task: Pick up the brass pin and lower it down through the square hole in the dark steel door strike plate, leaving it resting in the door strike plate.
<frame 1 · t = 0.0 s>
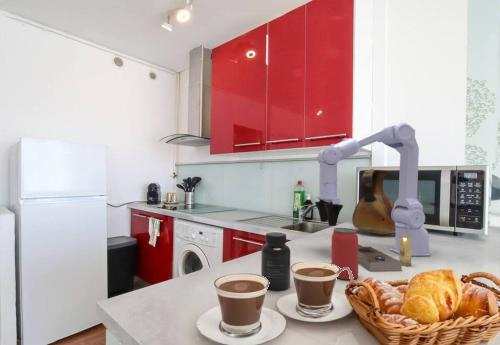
hand: (328, 223, 90), 10 cm above the worktop, tool pointing down, fingers open, 7 cm apart
beer can: (344, 276, 69), on the worktop
brass pin: (405, 264, 79), on the worktop
door strike plate: (364, 258, 85), on the worktop
ceramic pitcher: (375, 233, 125), on the worktop
supplement bottle: (275, 286, 63), on the worktop
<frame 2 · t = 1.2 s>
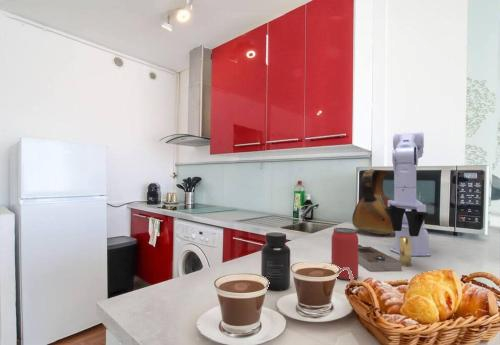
hand: (405, 233, 79), 9 cm above the worktop, tool pointing down, fingers open, 7 cm apart
nothing on the worktop moved.
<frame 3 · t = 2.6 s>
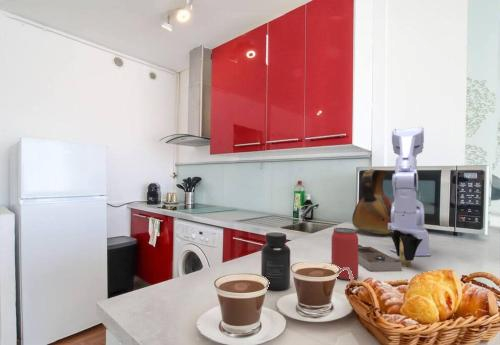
hand: (405, 258, 79), 2 cm above the worktop, tool pointing down, fingers closed on brass pin, 3 cm apart
brass pin: (405, 264, 79), on the worktop, touching gripper
everything else where it was.
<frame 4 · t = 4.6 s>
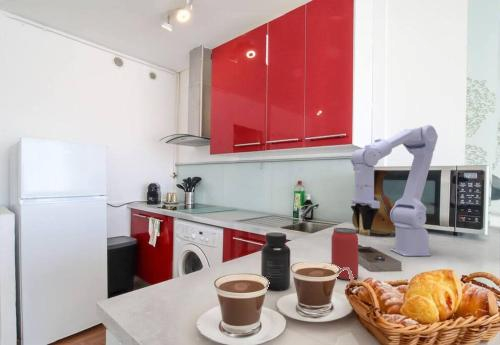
hand: (364, 228, 86), 9 cm above the worktop, tool pointing down, fingers closed on brass pin, 3 cm apart
brass pin: (364, 234, 85), point 7 cm above the worktop, touching gripper
everything else where it was.
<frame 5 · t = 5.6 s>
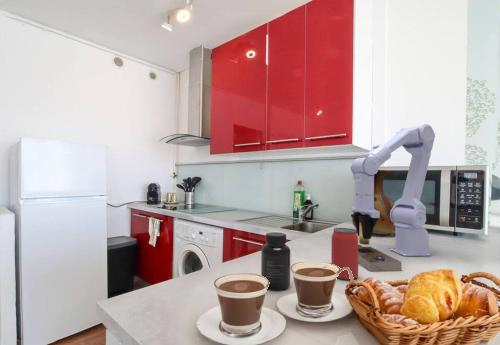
hand: (364, 237, 85), 7 cm above the worktop, tool pointing down, fingers closed on brass pin, 3 cm apart
brass pin: (364, 243, 85), point 5 cm above the worktop, touching gripper
everything else where it was.
when the fingers open (3 cm above the worktop, at t = 6.6 s): brass pin drops 1 cm, resting in door strike plate.
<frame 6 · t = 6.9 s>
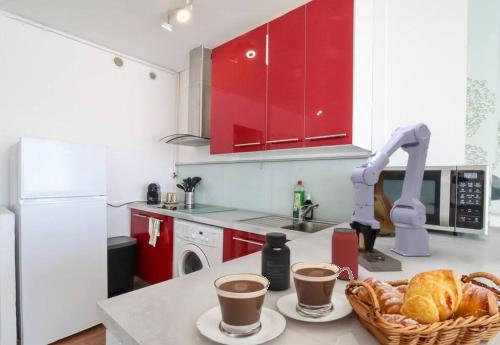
hand: (364, 247, 85), 3 cm above the worktop, tool pointing down, fingers open, 5 cm apart
brass pin: (364, 258, 85), resting in door strike plate
everything else where it was.
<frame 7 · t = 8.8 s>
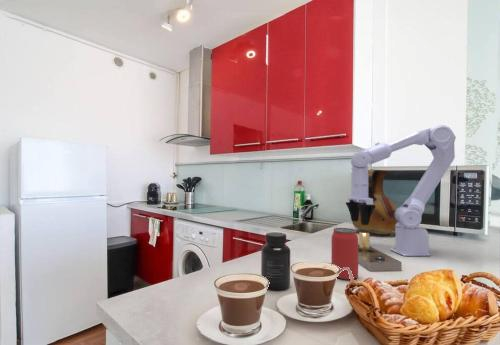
hand: (359, 222, 97), 9 cm above the worktop, tool pointing down, fingers open, 7 cm apart
nothing on the worktop moved.
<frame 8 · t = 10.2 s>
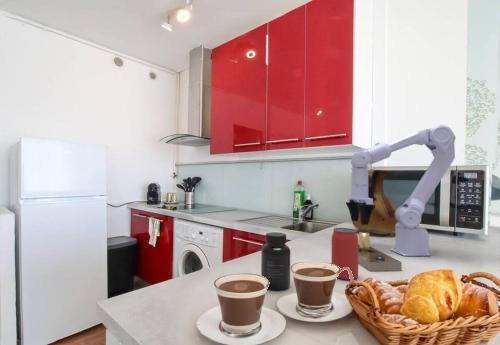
hand: (359, 222, 97), 9 cm above the worktop, tool pointing down, fingers open, 7 cm apart
nothing on the worktop moved.
at the end: brass pin 0.1 cm off-centre on the door strike plate, point 0.0 cm above the door strike plate's base; brass pin tilted 0°; the gripper is holding nothing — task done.
